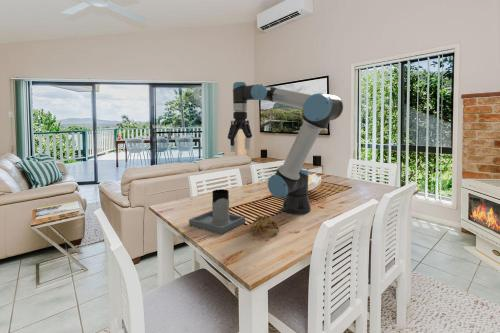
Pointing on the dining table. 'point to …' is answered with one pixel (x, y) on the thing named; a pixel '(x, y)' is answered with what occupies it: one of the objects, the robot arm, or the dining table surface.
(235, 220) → the grey square tray
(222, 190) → the glass holder
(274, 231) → the crab model
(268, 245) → the dining table surface
